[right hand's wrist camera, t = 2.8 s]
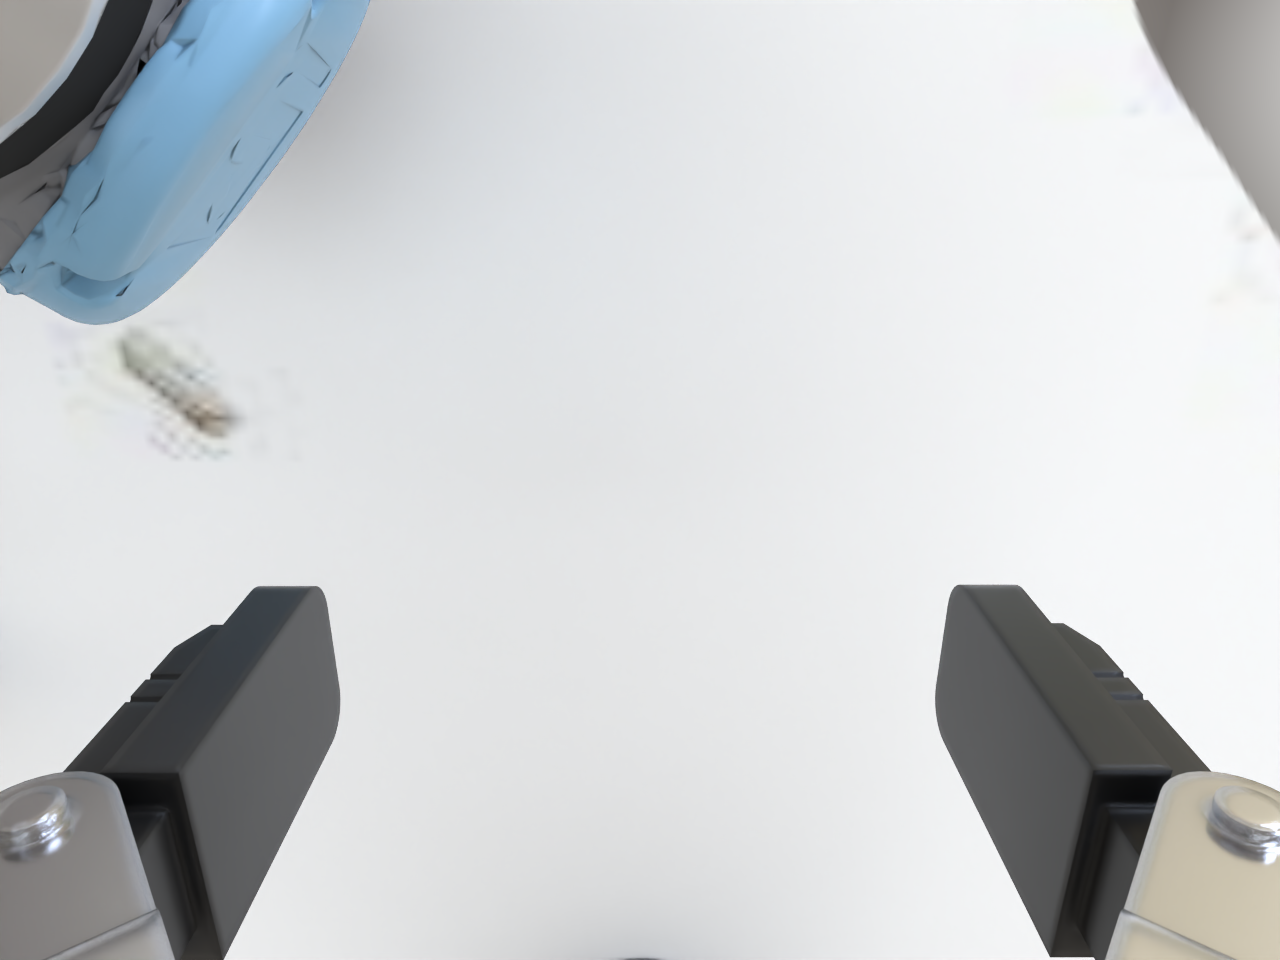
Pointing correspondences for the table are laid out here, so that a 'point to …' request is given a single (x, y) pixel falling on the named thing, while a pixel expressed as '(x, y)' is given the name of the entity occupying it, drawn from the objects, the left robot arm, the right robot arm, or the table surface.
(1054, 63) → the table surface
